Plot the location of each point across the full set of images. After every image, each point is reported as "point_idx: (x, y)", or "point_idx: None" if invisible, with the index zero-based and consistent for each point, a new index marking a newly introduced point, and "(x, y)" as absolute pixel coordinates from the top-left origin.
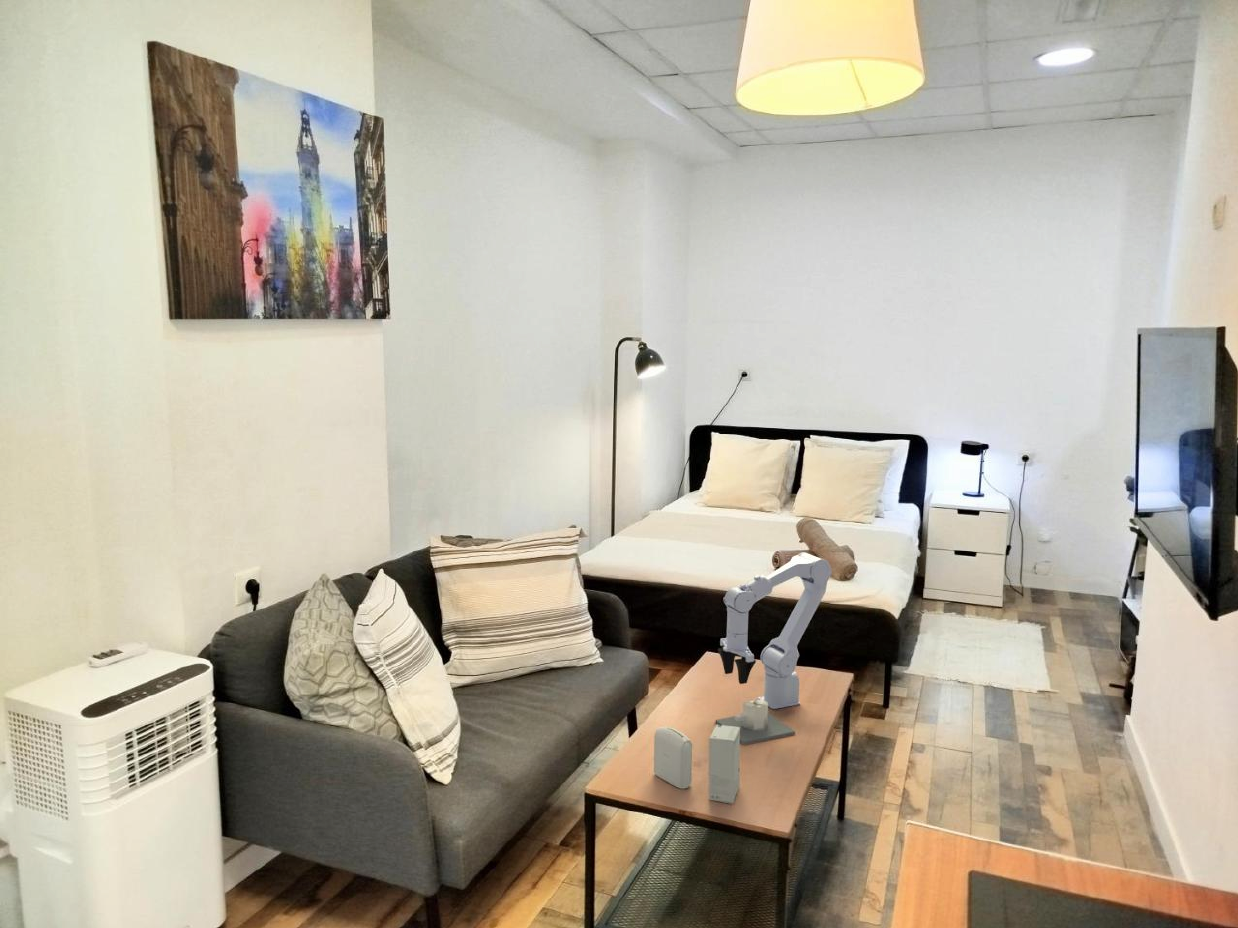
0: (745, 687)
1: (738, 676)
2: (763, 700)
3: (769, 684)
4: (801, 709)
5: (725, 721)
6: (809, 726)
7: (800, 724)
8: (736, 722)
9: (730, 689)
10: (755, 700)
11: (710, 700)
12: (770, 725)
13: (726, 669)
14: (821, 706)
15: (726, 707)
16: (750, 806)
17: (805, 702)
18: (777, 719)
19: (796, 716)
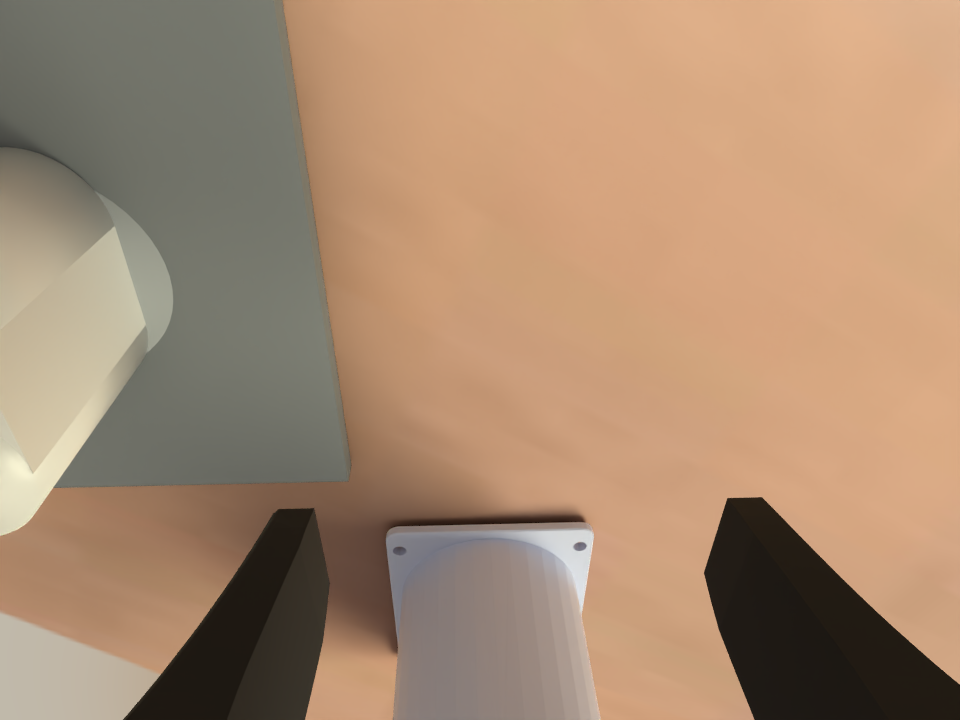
0: (800, 535)
1: (272, 598)
2: (21, 526)
3: (464, 688)
4: (338, 639)
5: (190, 28)
6: (82, 583)
7: (118, 558)
8: (148, 141)
9: (850, 443)
10: (21, 459)
11: (796, 189)
12: None
13: (758, 566)
14: (345, 713)
15: (577, 251)
16: None
17: None
18: (167, 478)
19: None
